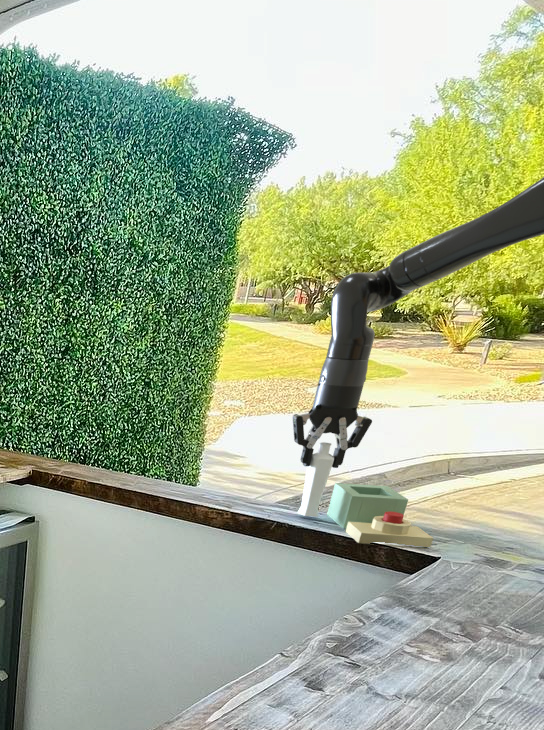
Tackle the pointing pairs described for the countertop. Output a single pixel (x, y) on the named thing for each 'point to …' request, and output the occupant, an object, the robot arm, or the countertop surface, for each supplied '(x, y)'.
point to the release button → (393, 517)
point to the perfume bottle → (316, 480)
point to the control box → (388, 533)
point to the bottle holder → (363, 503)
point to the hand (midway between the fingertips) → (319, 465)
